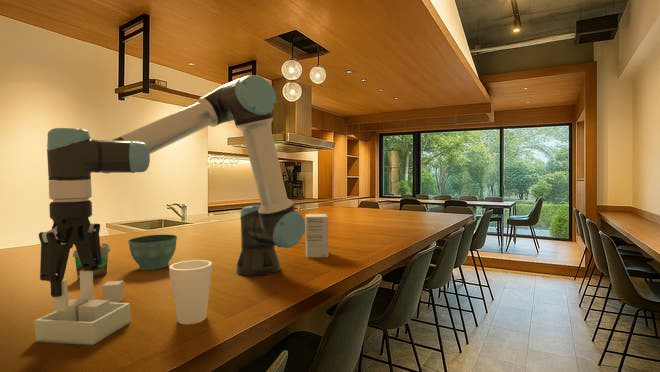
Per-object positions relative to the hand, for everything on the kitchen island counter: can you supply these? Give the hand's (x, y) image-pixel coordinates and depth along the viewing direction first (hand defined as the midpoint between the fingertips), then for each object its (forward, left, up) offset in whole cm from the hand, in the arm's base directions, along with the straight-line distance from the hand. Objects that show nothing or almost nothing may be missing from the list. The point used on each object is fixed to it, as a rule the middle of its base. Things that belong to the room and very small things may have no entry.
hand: (74, 304), depth 79 cm
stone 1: (0, 0, -6) cm, 6 cm away
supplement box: (-41, -77, -6) cm, 88 cm away
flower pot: (+16, -52, -6) cm, 55 cm away
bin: (-2, 0, -6) cm, 6 cm away
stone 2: (-5, 0, -6) cm, 7 cm away
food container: (+28, -39, -6) cm, 48 cm away
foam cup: (-22, -9, -6) cm, 25 cm away
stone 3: (+5, -18, -6) cm, 20 cm away
